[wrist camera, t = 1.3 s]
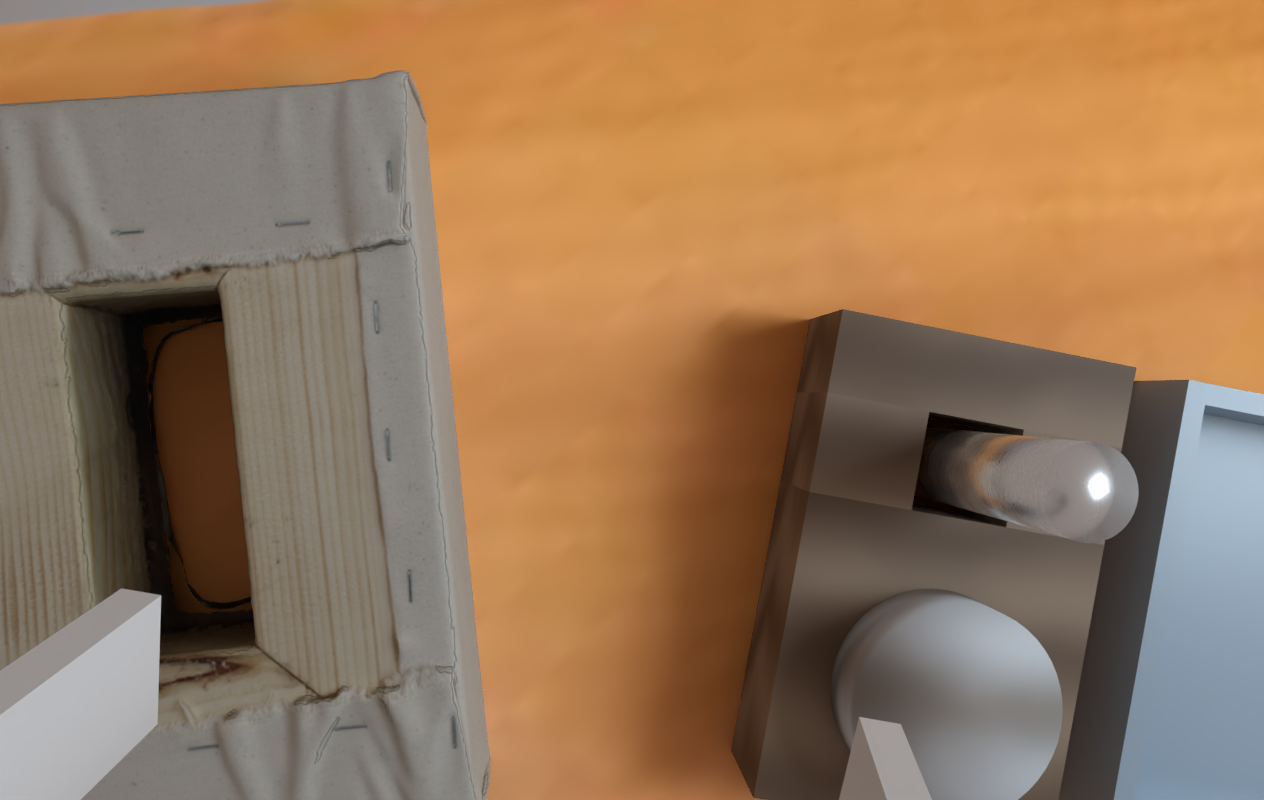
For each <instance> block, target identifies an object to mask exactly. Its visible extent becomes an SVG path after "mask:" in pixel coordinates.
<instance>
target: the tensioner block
mask: <svg viewBox="0 0 1264 800" xmlns="http://www.w3.org/2000/svg"><path fill="white" fill-rule="evenodd" d="M1135 372H1136V367H1130V366H1125V365H1120V364H1115V363H1110V362H1105V361H1100V360H1095V359H1090V358H1085V357H1080V356H1075V355H1070V354H1065V353H1060V352H1055V351H1050V350H1045V349H1040V348H1035V347H1030V346H1025V345H1020V344H1015V343H1010V342H1005V341H1000V340H995V339H990V338H984V337H979V336H974V335H969V334H964V333H959V332H954V331H949V330H944V329H939V328H934V327H929V326H924V325H919V324H914V323H909V322H904V321H899V320H894V319H889V318H884V317H879V316H874V315H869V314H864V313H859V312H854V311H849V310H843V309H842V310H839V311H836V312H833V313H829V314H826V315H823V316H820V317H816V318H813V319H810V325H809V330H808V335H807V341H806V346H805V352H804V357H803V363H802V368H801V374H800V379H799V384H798V390H797V395H796V401H795V406H794V412H793V417H792V423H791V428H790V433H789V439H788V444H787V450H786V455H785V461H784V466H783V472H782V477H781V483H780V488H779V493H778V499H777V504H776V510H775V515H774V521H773V526H772V532H771V537H770V542H769V548H768V553H767V559H766V564H765V570H764V575H763V581H762V586H761V591H760V597H759V602H758V608H757V613H756V619H755V624H754V630H753V635H752V640H751V646H750V651H749V657H748V662H747V668H746V673H745V679H744V684H743V690H742V695H741V700H740V706H739V711H738V717H737V722H736V728H735V733H734V739H733V744H732V749H731V751H732V753H733V755H734V757H735V759H736V762H737V764H738V766H739V768H740V770H741V772H742V774H743V776H744V779H745V781H746V783H747V785H748V787H749V789H750V791H751V793H752V795H753V797H754V798H760V799H767V800H839V797H840V793H841V789H842V785H843V781H844V777H845V773H846V769H847V765H848V760H849V756H850V752H851V748H852V744H853V740H854V736H855V732H856V728H857V724H858V720H859V717H863V718H869V719H875V720H880V721H886V722H892V723H898V724H901V726H902V728H903V731H904V733H905V735H906V738H907V740H908V743H909V745H910V748H911V750H912V752H913V755H914V757H915V760H916V762H917V765H918V767H919V770H920V772H921V774H922V777H923V779H924V782H925V784H926V787H927V789H928V791H929V794H930V796H931V799H932V800H1059V794H1060V788H1061V783H1062V777H1063V772H1064V766H1065V761H1066V755H1067V750H1068V744H1069V739H1070V733H1071V727H1072V722H1073V716H1074V711H1075V705H1076V700H1077V694H1078V689H1079V683H1080V677H1081V672H1082V666H1083V661H1084V655H1085V650H1086V644H1087V639H1088V633H1089V628H1090V622H1091V616H1092V611H1093V605H1094V600H1095V594H1096V589H1097V583H1098V578H1099V572H1100V566H1101V561H1102V555H1103V550H1104V544H1105V541H1101V542H1096V543H1083V542H1078V541H1075V540H1071V539H1068V538H1064V537H1061V536H1057V535H1054V534H1050V533H1047V532H1043V531H1040V530H1036V529H1033V528H1029V527H1026V526H1022V525H1019V524H1015V523H1012V522H1008V521H1005V520H1001V519H998V518H994V517H991V516H987V515H984V514H980V513H977V512H973V511H970V510H966V509H963V508H959V507H957V508H956V512H952V511H946V510H941V509H935V508H930V507H924V506H919V505H913V499H914V493H915V488H916V483H917V477H918V472H919V466H920V461H921V455H922V450H923V444H924V439H925V433H926V428H927V422H928V417H929V418H934V419H939V420H945V421H950V422H955V423H960V424H966V425H971V431H976V432H987V433H998V434H1009V435H1020V436H1032V437H1043V438H1054V439H1065V440H1076V441H1087V442H1097V443H1102V444H1106V445H1108V446H1111V447H1113V448H1114V449H1116V450H1118V451H1119V452H1120V453H1121V450H1122V444H1123V439H1124V433H1125V428H1126V422H1127V417H1128V411H1129V406H1130V400H1131V394H1132V389H1133V383H1134V378H1135Z"/></svg>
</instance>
